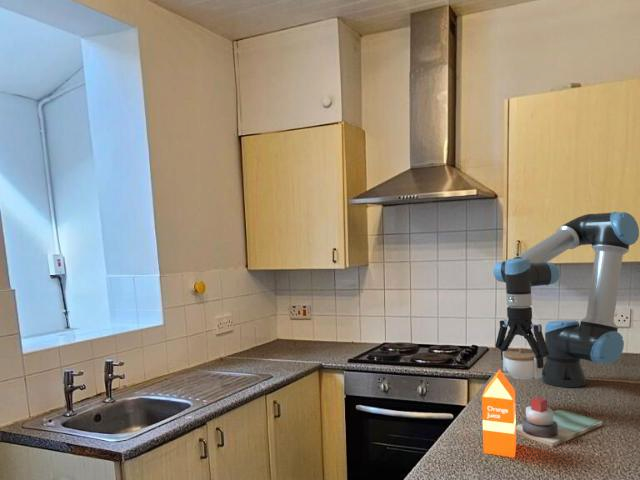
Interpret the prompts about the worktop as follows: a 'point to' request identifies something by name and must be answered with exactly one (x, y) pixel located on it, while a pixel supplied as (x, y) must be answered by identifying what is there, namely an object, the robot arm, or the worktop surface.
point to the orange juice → (499, 417)
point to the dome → (539, 412)
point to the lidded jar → (520, 363)
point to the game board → (558, 428)
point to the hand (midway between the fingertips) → (522, 374)
